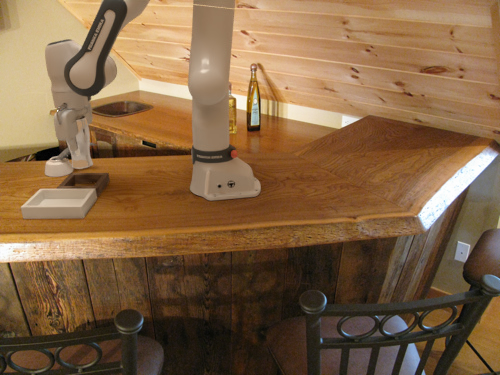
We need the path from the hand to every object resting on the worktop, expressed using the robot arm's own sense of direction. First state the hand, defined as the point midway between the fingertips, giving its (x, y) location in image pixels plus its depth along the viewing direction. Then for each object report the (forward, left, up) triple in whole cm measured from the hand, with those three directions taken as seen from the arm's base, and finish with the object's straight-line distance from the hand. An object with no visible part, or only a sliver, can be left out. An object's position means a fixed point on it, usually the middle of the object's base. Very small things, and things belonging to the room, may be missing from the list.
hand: (79, 146), depth 121 cm
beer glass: (0, 0, -7) cm, 7 cm away
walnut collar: (0, 0, -14) cm, 14 cm away
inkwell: (+10, -16, -14) cm, 24 cm away
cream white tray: (+2, +13, -14) cm, 20 cm away
